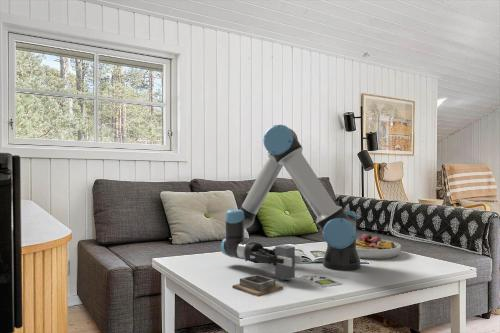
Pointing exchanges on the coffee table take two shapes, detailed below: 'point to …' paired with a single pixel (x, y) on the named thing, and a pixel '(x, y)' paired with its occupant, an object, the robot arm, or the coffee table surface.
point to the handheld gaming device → (320, 280)
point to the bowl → (376, 247)
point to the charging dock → (257, 285)
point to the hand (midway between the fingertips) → (296, 261)
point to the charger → (284, 270)
